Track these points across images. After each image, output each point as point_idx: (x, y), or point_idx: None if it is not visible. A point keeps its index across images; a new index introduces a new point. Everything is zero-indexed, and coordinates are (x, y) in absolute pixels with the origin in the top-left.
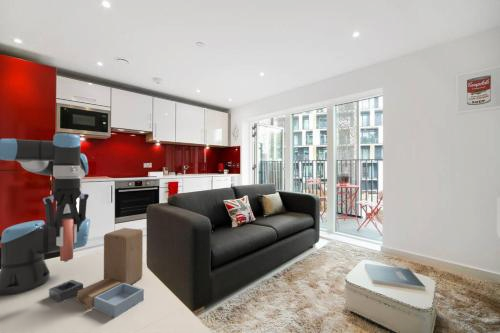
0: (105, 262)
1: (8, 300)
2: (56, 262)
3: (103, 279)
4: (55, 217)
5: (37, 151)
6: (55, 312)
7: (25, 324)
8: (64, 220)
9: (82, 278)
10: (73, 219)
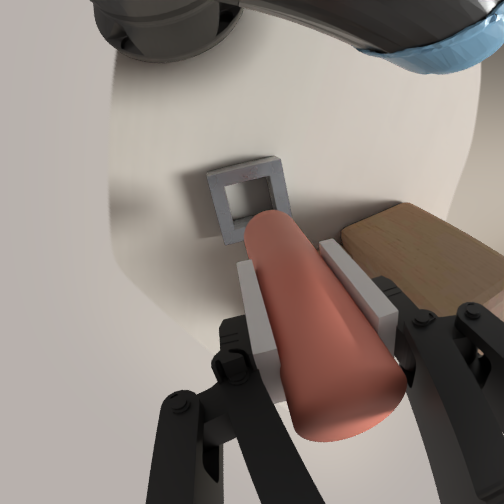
0: (375, 275)
1: (119, 96)
2: None
3: None
4: (250, 467)
5: None
6: (205, 277)
7: (147, 280)
8: (320, 429)
9: (320, 107)
10: (420, 350)
